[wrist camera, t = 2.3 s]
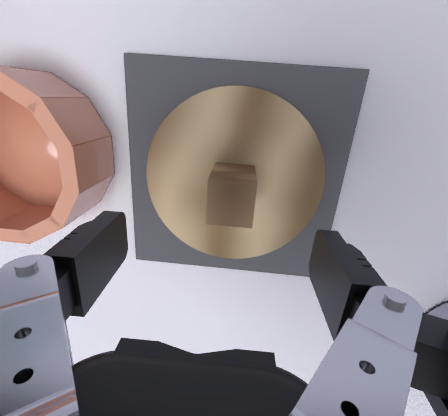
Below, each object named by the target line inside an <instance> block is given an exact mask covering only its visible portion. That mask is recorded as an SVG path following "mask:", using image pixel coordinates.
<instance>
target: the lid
mask: <svg viewBox="0 0 448 416" xmlns="http://www.w3.org/2000/svg"><path fill="white" fill-rule="evenodd" d="M146 176H147V185H148V190H149V194H150V198H151V200H152V203H153V205H154V208H155V210H156V211H157V213H158V215H159V217H160V218H161V220H162V221H163V223H164V224H165V225H166V226H167V228H168V229H169V230H170V231H171V232H172V233H173V234H174V235H175V236H176V237H178V238H179V239H180V240H181V241H183V242H184V243H186V244H187V245H189V246H190V247H192V248H194V249H196V250H198V251H201V252H203V253H206V254H209V255H212V256H216V257H222V258H230V259H242V258H251V257H256V256H260V255H264V254H267V253H270V252H272V251H274V250H276V249H278V248H280V247H282V246H284V245H285V244H287V243H288V242H290V241H291V240H292V239H293V238H295V237H296V236H297V235H298V234H299V233H300V232H301V231H302V230H303V229H304V228H305V227H306V225H307V224H308V223H309V221H310V220H311V218H312V217H313V215H314V213H315V212H316V210H317V207H318V205H319V203H320V200H321V197H322V193H323V189H324V182H325V163H324V156H323V152H322V149H321V145H320V142H319V140H318V138H317V136H316V133H315V132H314V130H313V128H312V127H311V125H310V124H309V122H308V121H307V120H306V119H305V117H304V116H303V115H302V114H301V113H300V112H299V111H298V110H297V109H296V108H295V107H294V106H292V105H291V104H290V103H288V102H287V101H285V100H284V99H282V98H281V97H279V96H277V95H275V94H272V93H270V92H268V91H265V90H262V89H258V88H255V87H248V86H223V87H216V88H212V89H209V90H206V91H202V92H200V93H198V94H196V95H194V96H192V97H190V98H188V99H187V100H185V101H184V102H182V103H181V104H180V105H178V106H177V107H176V108H175V109H174V110H173V111H172V112H171V113H170V114H169V115H168V116H167V117H166V118H165V120H164V121H163V122H162V124H161V125H160V127H159V128H158V130H157V132H156V134H155V136H154V138H153V140H152V143H151V146H150V149H149V153H148V159H147V172H146Z"/></svg>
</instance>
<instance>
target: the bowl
mask: <svg viewBox="0 0 448 416" xmlns="http://www.w3.org/2000/svg"><path fill="white" fill-rule="evenodd" d="M114 173H115V172H114V160H113V148H112V136H111V134H110V132H109V131H108V129H107V127H106V126H105V124H104V122H103V121H102V119H101V118H100V116H99V114H98V113H97V111H96V109H95V108H94V106H93V104H92V103H91V101H90V99H89V98H88V97H87V96H85V95H84V94H82V93H81V92H79V91H78V90H76V89H75V88H73V87H72V86H70V85H69V84H67V83H66V82H64V81H63V80H61V79H60V78H58V77H57V76H55V75H54V74H52V73H50V72H43V71H35V70H28V69H21V68H13V67H6V66H0V241H6V242H16V243H26V244H31V243H33V242H35V241H37V240H39V239H41V238H43V237H45V236H47V235H49V234H51V233H53V232H56V231H58V230H60V229H62V228H63V227H65V226H66V225H68V224H69V223H70V222H72V221H73V220H75V219H76V218H77V217H79V216H80V215H82V214H83V213H85V212H86V211H87V210H89V209H90V208H92V207H93V206H95V205H96V204H97V203H99V202H100V200H101V199H102V197H103V195H104V193H105V191H106V189H107V187H108V185H109V183H110V181H111V179H112V178H113V176H114Z"/></svg>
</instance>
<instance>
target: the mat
mask: <svg viewBox="0 0 448 416" xmlns="http://www.w3.org/2000/svg"><path fill="white" fill-rule="evenodd" d="M124 66H125V83H126V99H127V116H128V132H129V149H130V165H131V182H132V199H133V215H134V232H135V248H136V259H140V260H150V261H159V262H169V263H179V264H189V265H199V266H209V267H218V268H228V269H238V270H248V271H258V272H268V273H277V274H287V275H297V276H307V277H310V276H309V261H310V256H311V252H312V247H313V243H314V238H315V234H316V232H317V230H331V228H332V224H333V220H334V215H335V211H336V207H337V203H338V199H339V195H340V190H341V186H342V182H343V178H344V174H345V170H346V166H347V161H348V157H349V153H350V149H351V145H352V141H353V136H354V132H355V128H356V124H357V120H358V116H359V111H360V107H361V103H362V99H363V95H364V91H365V87H366V82H367V78H368V74H369V69H355V68H340V67H326V66H311V65H296V64H282V63H267V62H252V61H238V60H223V59H208V58H194V57H179V56H165V55H150V54H135V53H124ZM223 86H248V87H255V88H258V89H262V90H265V91H268V92H270V93H272V94H275V95H277V96H279V97H281V98H282V99H284V100H285V101H287V102H288V103H290V104H291V105H292V106H294V107H295V108H296V109H297V110H298V111H299V112H300V113H301V114H302V115H303V116H304V117H305V119H306V120H307V121H308V122H309V124H310V125H311V127H312V128H313V130H314V132H315V133H316V136H317V138H318V140H319V142H320V145H321V149H322V152H323V156H324V163H325V182H324V189H323V193H322V197H321V200H320V203H319V205H318V207H317V210H316V212H315V213H314V215H313V217H312V218H311V220H310V221H309V223H308V224H307V225H306V227H305V228H304V229H303V230H302V231H301V232H300V233H299V234H298V235H297V236H296V237H295V238H293V239H292V240H291V241H290V242H288V243H287V244H285V245H284V246H282V247H280V248H278V249H276V250H274V251H272V252H270V253H267V254H264V255H260V256H256V257H251V258H242V259H230V258H222V257H216V256H212V255H209V254H206V253H203V252H201V251H198V250H196V249H194V248H192V247H190V246H189V245H187V244H186V243H184V242H183V241H181V240H180V239H179V238H178V237H176V236H175V235H174V234H173V233H172V232H171V231H170V230H169V229H168V228H167V226H166V225H165V224H164V223H163V221H162V220H161V218H160V217H159V215H158V213H157V211H156V210H155V208H154V205H153V203H152V200H151V198H150V194H149V190H148V185H147V176H146V172H147V159H148V153H149V149H150V146H151V143H152V140H153V138H154V136H155V134H156V132H157V130H158V128H159V127H160V125H161V124H162V122H163V121H164V120H165V118H166V117H167V116H168V115H169V114H170V113H171V112H172V111H173V110H174V109H175V108H176V107H177V106H178V105H180V104H181V103H182V102H184V101H185V100H187V99H188V98H190V97H192V96H194V95H196V94H198V93H200V92H202V91H206V90H209V89H212V88H216V87H223Z"/></svg>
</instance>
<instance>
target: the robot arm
mask: <svg viewBox="0 0 448 416" xmlns="http://www.w3.org/2000/svg"><path fill="white" fill-rule="evenodd" d="M127 250H128V241H127V228H126V217H125V214H124V213H123V212H114V211H103V212H102V213H101V214H100V215H98V216H97V217H96V218H95V219H94V220H93V221H89V222H87V223H84V224H82V225H80V226H78V227H77V228H75V229H74V230H73V231H72V232H71V233H70V234H68V235H67V236H66V237H64V239H62V240H61V241H59V242H58V243H57V244H56V245H54V246H53V247H52V248H51V249H49V250H48V251H47V252H46V253H44V254H43V255H29V256H24V257H20V258H17V259H15V260H12V261H10V262H8V263H7V264H5V265H4V266H2V267H1V268H0V416H404V412H405V408H406V403H407V399H408V394H409V390H410V387H412V388H415V389H418V390H420V391H423V392H424V394H425V395H426V397H427V399H428V401H429V403H430V404H431V406H432V408H433V410H434V412H435V413H436V415H437V416H448V303H445V304H442V305H441V306H439V307H437V308H435V309H433V310H432V311H430V312H429V313H428V314H426V313H423V310H422V307H421V306H420V304H419V303H418V302H417V301H416V300H415V299H414V298H412V297H411V296H410V295H408V294H406V293H404V292H403V291H400V290H398V289H395V288H392V287H388V286H387V285H386V284H385V282H384V281H383V280H382V279H381V277H380V276H379V275H378V273H377V272H376V271H375V269H374V268H373V267H372V265H371V264H370V263H369V262H368V261H367V259H366V258H365V256H364V255H363V254H362V252H361V251H360V250H358V249H357V248H355V247H354V246H352V245H351V244H346V242H345V241H344V239H343V238H342V237H341V235H340V234H339V232H338V231H331V230H317V232H316V234H315V238H314V243H313V247H312V252H311V256H310V261H309V276H310V279H311V282H312V285H313V287H314V290H315V293H316V295H317V298H318V300H319V303H320V306H321V308H322V311H323V314H324V316H325V319H326V322H327V324H328V327H329V330H330V332H331V335H332V338H333V340H334V342H333V344H332V346H331V347H330V349H329V351H328V352H327V354H326V356H325V357H324V359H323V361H322V362H321V364H320V366H319V367H318V369H317V371H316V372H315V374H314V376H313V377H312V379H311V381H310V382H309V384H307V383H306V382H304V381H303V380H302V379H300V378H299V377H297V376H295V375H294V374H292V373H290V372H288V371H286V370H284V369H282V368H279V367H276V364H275V356H274V353H271V352H260V351H250V350H240V349H233V350H225V351H218V352H210V353H202V354H193V353H190V352H187V351H184V350H181V349H179V348H176V347H173V346H170V345H167V344H164V343H161V342H159V341H149V340H139V339H129V338H121V339H120V341H119V343H118V345H117V347H116V349H115V351H109V352H105V353H101V354H98V355H95V356H92V357H89V358H87V359H84V360H82V361H80V362H78V363H76V364H74V363H73V358H72V353H71V347H70V342H69V336H68V331H67V326H66V320H67V318H68V317H69V316H80V317H84V316H85V315H86V314H87V312H88V311H89V309H90V308H91V306H92V305H93V304H94V302H95V301H96V299H97V298H98V297H99V295H100V294H101V292H102V291H103V290H104V288H105V287H106V285H107V284H108V282H109V281H110V280H111V278H112V277H113V275H114V274H115V273H116V271H117V270H118V268H119V267H120V266H121V264H122V263H123V261H124V260H125V258H126V255H127Z"/></svg>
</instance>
